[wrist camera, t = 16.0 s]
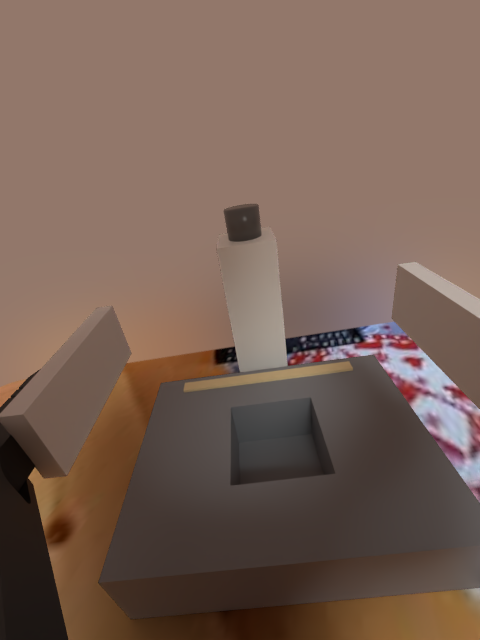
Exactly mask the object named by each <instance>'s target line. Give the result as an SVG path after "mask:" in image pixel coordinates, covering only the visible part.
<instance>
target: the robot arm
mask: <svg viewBox="0 0 480 640" xmlns="http://www.w3.org/2000/svg"><path fill="white" fill-rule="evenodd" d="M392 319H393V320H394V321H395V322H396V324H397V325H398V326H399V327H400V328H401V329H402V330H403V331H404V332H405V333H406V334H407V335H408V336H409V337H410V338H411V339H412V340H413V341H414V342H415V343H416V344H417V345H418V346H419V347H420V348H421V349H422V350H423V351H424V352H425V353H426V354H427V355H428V356H429V358H430V359H431V360H432V361H433V362H434V363H435V364H436V365H437V366H438V367H439V368H440V369H441V370H442V371H443V372H444V373H445V374H446V375H447V376H448V377H449V378H450V379H451V380H452V381H453V382H454V383H455V384H456V385H457V386H458V387H459V388H460V389H461V390H462V391H463V393H464V394H465V395H466V396H467V397H468V398H469V399H470V400H471V401H472V402H473V403H474V404H475V405H476V406H477V407H478V408H479V409H480V299H479V298H477V297H475V296H473V295H472V294H470V293H468V292H466V291H465V290H463V289H461V288H460V287H458V286H456V285H454V284H453V283H451V282H449V281H448V280H446V279H444V278H442V277H441V276H439V275H437V274H435V273H434V272H432V271H430V270H429V269H427V268H425V267H423V266H422V265H420V264H418V263H416V262H412V263H405V264H398V268H397V276H396V285H395V293H394V302H393V310H392ZM130 355H131V351H130V348H129V346H128V343H127V341H126V339H125V336H124V333H123V331H122V328H121V326H120V323H119V321H118V318H117V316H116V314H115V311H114V308H113V306H107V307H100V308H96V309H95V310H94V312H93V313H92V314H91V315H90V316H89V317H88V318H87V319H86V320H85V321H84V322H83V324H82V325H81V326H80V327H79V328H78V329H77V330H76V331H75V332H74V333H73V334H72V336H71V337H70V338H69V339H68V340H67V341H66V342H65V343H64V344H63V345H62V347H61V348H60V349H59V350H58V351H57V352H56V353H55V354H54V355H53V356H52V357H51V359H50V360H49V361H48V362H47V363H46V364H45V365H44V366H43V367H42V368H41V369H40V370H38V371H37V372H36V373H34V374H33V375H31V376H30V377H28V379H27V380H26V381H25V382H24V383H23V384H22V385H21V386H20V387H19V390H16V391H15V392H14V393H13V395H12V396H11V398H9V399H8V400H7V401H6V402H5V403H4V404H3V405H2V406H1V407H0V640H68V636H67V632H66V627H65V623H64V619H63V614H62V610H61V605H60V601H59V597H58V592H57V588H56V583H55V579H54V575H53V570H52V566H51V561H50V557H49V553H48V548H47V544H46V539H45V535H44V530H43V526H42V522H41V517H40V513H39V508H38V504H37V500H36V495H35V491H34V486H33V484H32V483H31V481H30V480H29V479H28V477H29V475H30V474H31V472H32V470H33V469H34V467H35V468H36V469H37V470H38V471H39V473H40V474H41V475H42V477H43V478H53V477H62V476H67V475H68V473H69V471H70V469H71V467H72V465H73V464H74V462H75V460H76V458H77V456H78V454H79V452H80V450H81V448H82V446H83V445H84V443H85V441H86V439H87V437H88V435H89V433H90V431H91V429H92V427H93V426H94V424H95V422H96V420H97V418H98V416H99V414H100V412H101V410H102V408H103V407H104V405H105V403H106V401H107V399H108V397H109V395H110V393H111V391H112V389H113V388H114V386H115V384H116V382H117V380H118V378H119V376H120V374H121V372H122V370H123V368H124V367H125V365H126V363H127V361H128V359H129V357H130Z"/></svg>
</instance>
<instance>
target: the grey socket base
mask: <svg viewBox="0 0 480 640" xmlns="http://www.w3.org/2000/svg"><path fill="white" fill-rule="evenodd" d="M98 583H99V584H100V585H101V587H102V588H103V589H104V590H105V591H106V592H107V593H108V594H109V596H110V597H111V598H112V599H113V600H114V601H115V602H116V603H117V605H118V606H119V607H120V608H121V609H122V610H123V611H124V612H125V613H126V615H127V616H128V617H129V618H130V619H139V618H150V617H162V616H173V615H184V614H195V613H206V612H217V611H228V610H239V609H250V608H261V607H272V606H283V605H294V604H305V603H316V602H327V601H338V600H349V599H360V598H371V597H382V596H393V595H404V594H415V593H426V592H437V591H448V590H459V589H470V588H480V503H479V501H478V500H477V499H476V497H475V496H474V494H473V493H472V492H471V490H470V489H469V487H468V486H467V485H466V483H465V482H464V481H463V479H462V478H461V476H460V475H459V474H458V472H457V471H456V469H455V468H454V467H453V465H452V464H451V462H450V461H449V460H448V458H447V457H446V455H445V454H444V453H443V451H442V450H441V448H440V447H439V446H438V444H437V443H436V441H435V440H434V439H433V437H432V436H431V434H430V433H429V432H428V430H427V429H426V427H425V426H424V425H423V423H422V422H421V420H420V419H419V418H418V416H417V415H416V413H415V412H414V411H413V409H412V408H411V406H410V405H409V404H408V402H407V401H406V399H405V398H404V397H403V395H402V394H401V392H400V391H399V390H398V388H397V387H396V385H395V384H394V383H393V381H392V380H391V378H390V377H389V376H388V374H387V373H386V371H385V370H384V369H383V367H382V366H381V364H380V363H379V362H378V360H377V359H376V357H375V356H374V355H368V356H360V357H353V358H345V359H338V360H330V361H323V362H315V363H308V364H300V365H293V366H285V367H278V368H270V369H262V370H255V371H247V372H240V373H232V374H225V375H217V376H210V377H202V378H195V379H187V380H180V381H172V382H165V383H161V385H160V388H159V391H158V394H157V398H156V401H155V404H154V407H153V410H152V413H151V417H150V420H149V423H148V426H147V429H146V432H145V436H144V439H143V442H142V445H141V448H140V452H139V455H138V458H137V461H136V464H135V467H134V471H133V474H132V477H131V480H130V483H129V487H128V490H127V493H126V496H125V499H124V502H123V506H122V509H121V512H120V515H119V518H118V521H117V525H116V528H115V531H114V534H113V537H112V541H111V544H110V547H109V550H108V553H107V556H106V560H105V563H104V566H103V569H102V572H101V576H100V579H99V582H98Z"/></svg>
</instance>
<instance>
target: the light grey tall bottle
mask: <svg viewBox="0 0 480 640" xmlns="http://www.w3.org/2000/svg"><path fill="white" fill-rule="evenodd" d="M224 215H225V221H226V227H227V233H226V234H220V235H219V236H218V242H217V247H216V250H217V254H218V260H219V266H220V271H221V276H222V281H223V286H224V291H225V297H226V302H227V307H228V313H229V318H230V323H231V329H232V334H233V339H234V343H235V349H236V355H237V360H238V365H239V370H240V372H247V371H255V370H262V369H270V368H278V367H285V366H287V354H286V343H285V332H284V321H283V309H282V299H281V288H280V275H279V265H278V254H277V253H278V252H277V241H276V238H275V236H274V234H273V232H272V230H271V228H270V227H264V228H261V225H260V216H259V207H258V204H245V205H239V206H233V207H230V208H227V209H225V210H224Z"/></svg>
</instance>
